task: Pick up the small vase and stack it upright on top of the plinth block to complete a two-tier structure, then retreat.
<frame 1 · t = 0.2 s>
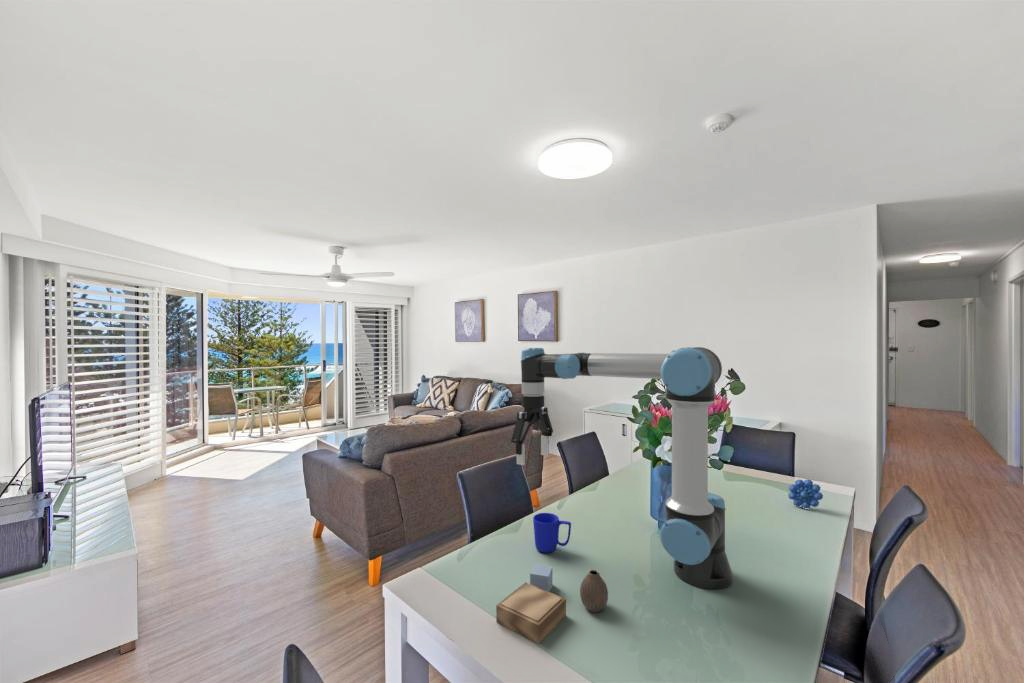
hand: (533, 459, 140), 28 cm above the table, fingers open, 13 cm apart
plinth: (531, 618, 103), on the table
grapes: (805, 508, 169), on the table
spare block: (541, 588, 115), on the table
vase: (594, 608, 107), on the table
mug: (552, 550, 137), on the table
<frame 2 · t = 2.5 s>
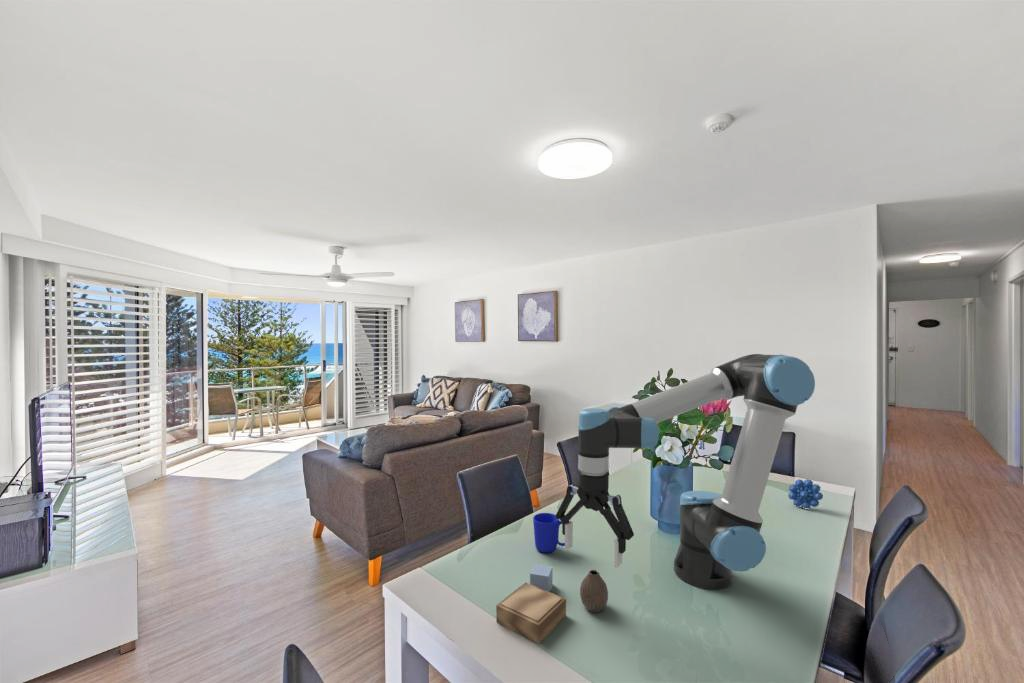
hand: (592, 556, 107), 13 cm above the table, fingers open, 13 cm apart
nothing on the table moved.
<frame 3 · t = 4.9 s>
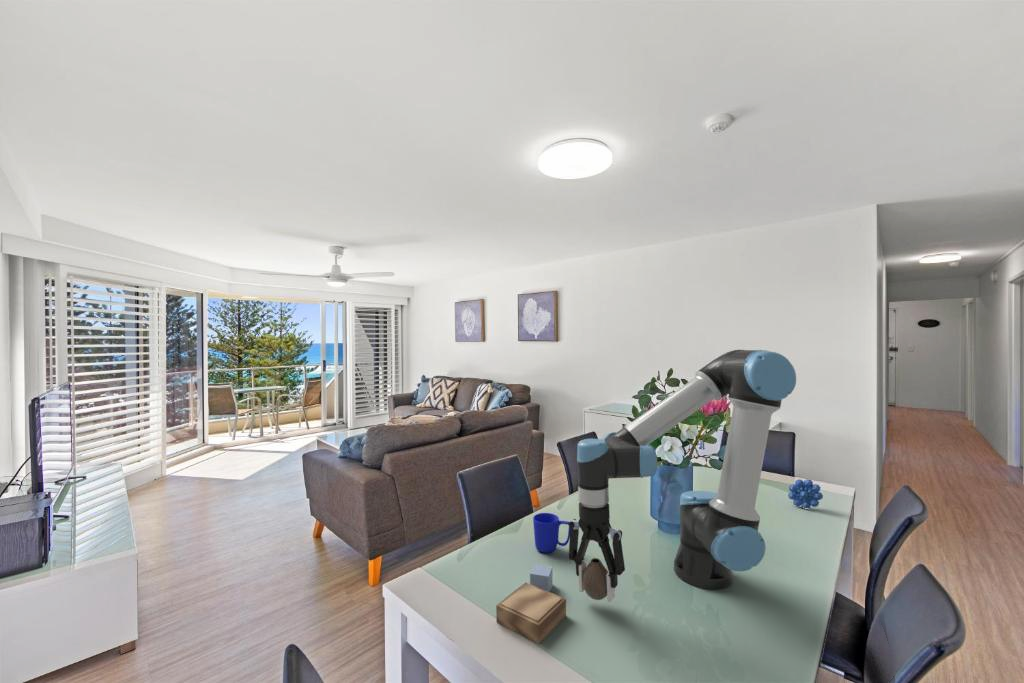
hand: (596, 593, 107), 3 cm above the table, fingers closed on vase, 7 cm apart
vase: (597, 596, 107), point 3 cm above the table, touching gripper
everything else where it was.
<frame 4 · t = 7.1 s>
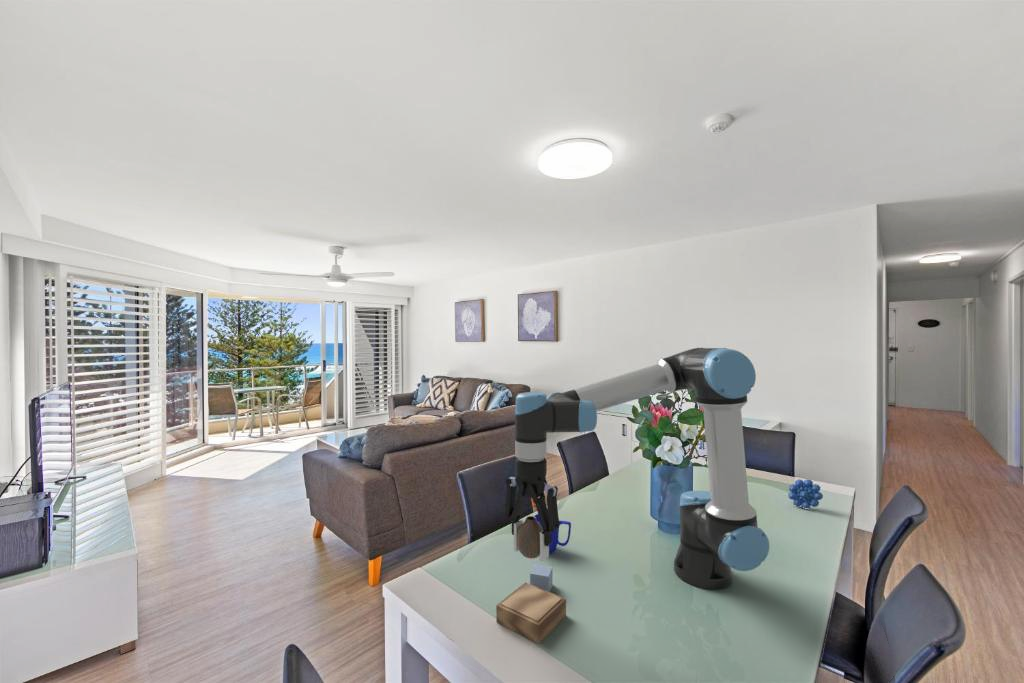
hand: (531, 553, 103), 16 cm above the table, fingers closed on vase, 7 cm apart
vase: (531, 555, 103), point 15 cm above the table, touching gripper
everything else where it was.
when the fingers open (5 cm above the table, at t = 9.3 s): vase stays where it is, resting on plinth.
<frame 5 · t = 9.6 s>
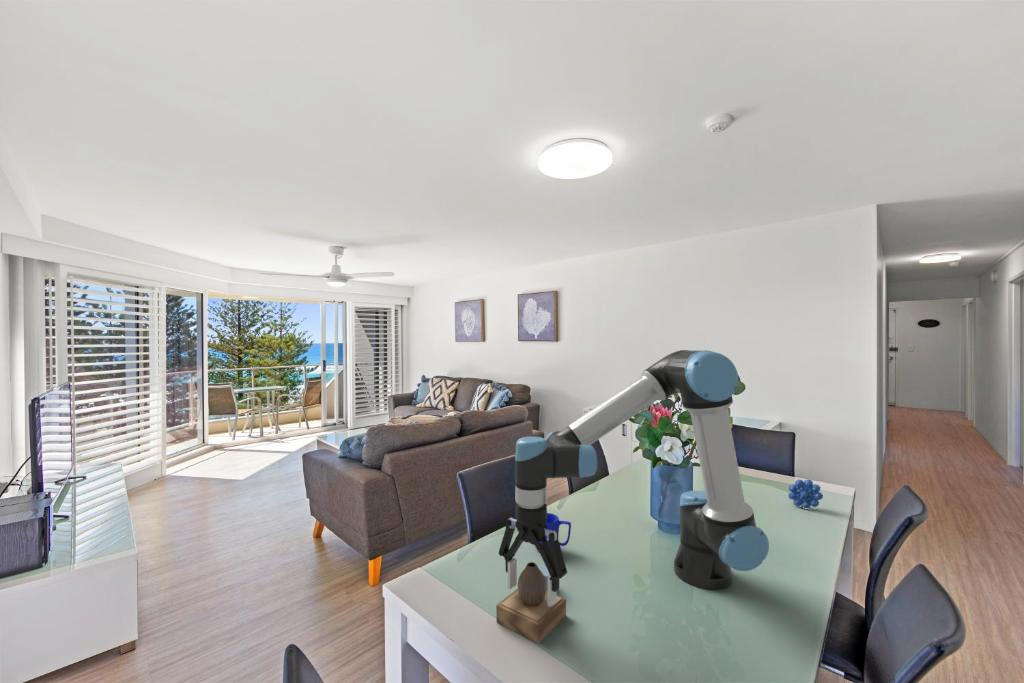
hand: (531, 594, 103), 6 cm above the table, fingers open, 11 cm apart
vase: (532, 601, 103), point 4 cm above the table, touching plinth
everything else where it was.
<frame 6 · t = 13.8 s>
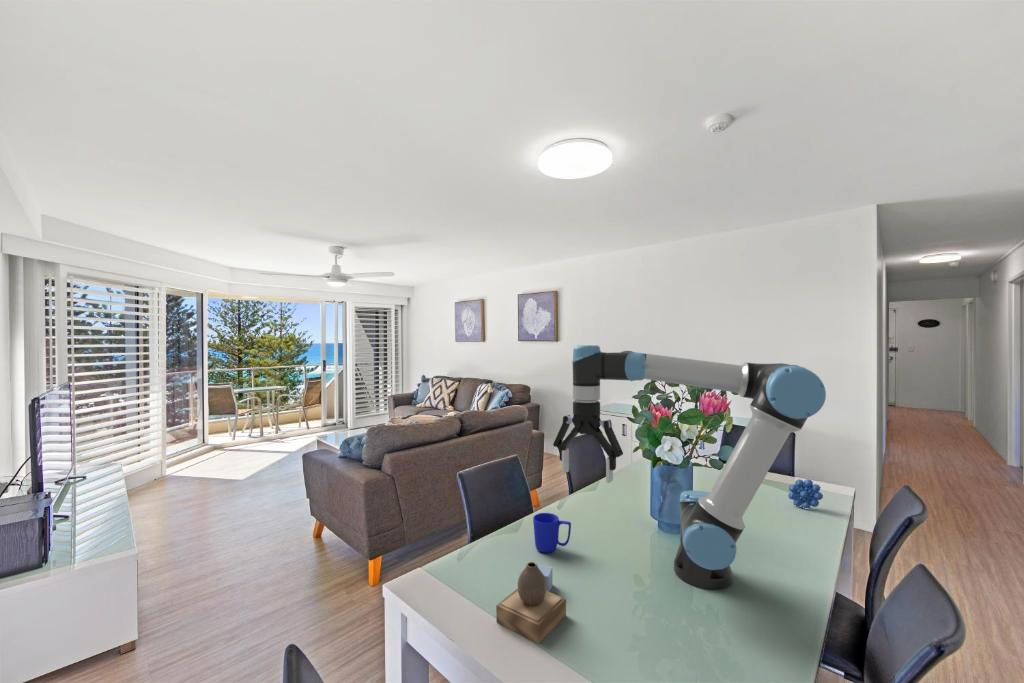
hand: (586, 476, 119), 29 cm above the table, fingers open, 13 cm apart
nothing on the table moved.
at the end: vase inside the target area on the plinth (0.1 cm from its centre), point 4.0 cm above the plinth's base; vase tilted 0°; the gripper is holding nothing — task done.
